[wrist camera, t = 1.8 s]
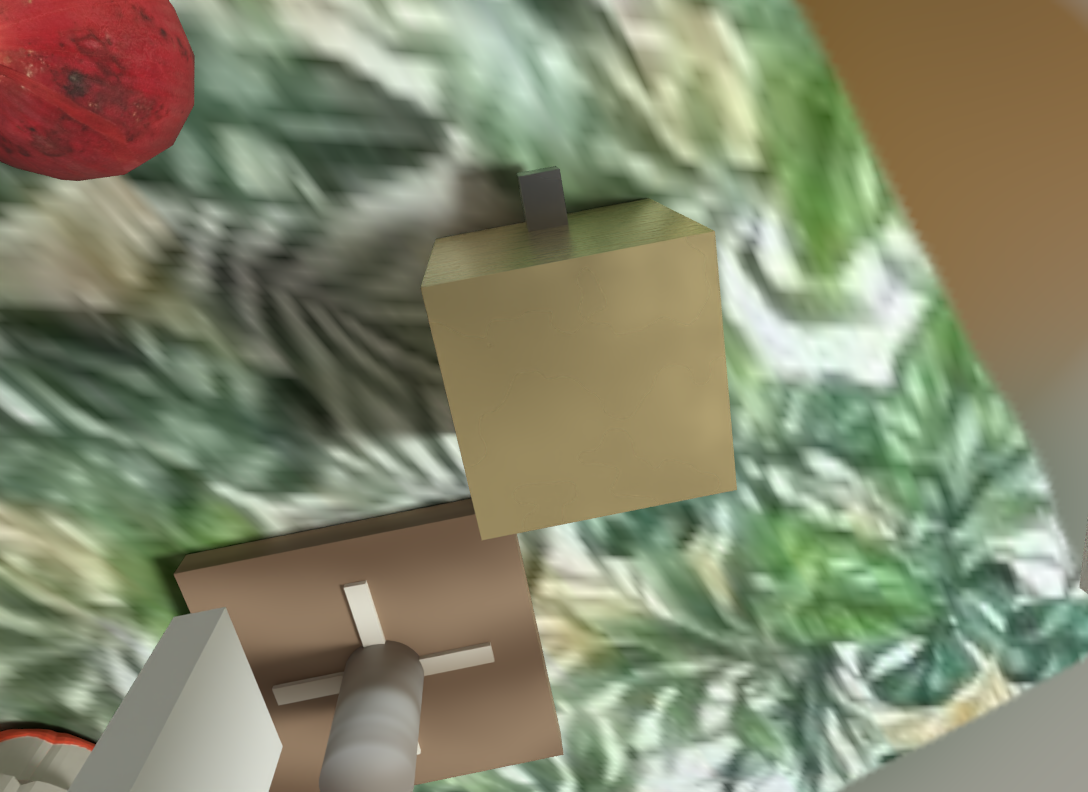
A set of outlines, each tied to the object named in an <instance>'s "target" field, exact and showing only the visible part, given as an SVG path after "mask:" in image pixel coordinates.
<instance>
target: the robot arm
mask: <svg viewBox="0 0 1088 792" xmlns="http://www.w3.org/2000/svg"><path fill="white" fill-rule="evenodd" d="M1080 588H1081V589H1082V590H1083V591H1085V592H1086V593H1087V594H1088V518H1087V527H1086V536H1085V544H1084V553H1083V562H1082V570H1081V579H1080ZM282 747H283V746H282V743H281V741H280V738H279V736H278V734H277V731H276V729H275V726H274V724H273V721H272V719H271V716H270V714H269V712H268V709H267V707H266V704H265V702H264V699H263V697H262V694H261V692H260V690H259V687H258V685H257V682H256V680H255V677H254V675H253V672H252V670H251V668H250V665H249V663H248V660H247V658H246V655H245V653H244V650H243V648H242V646H241V643H240V641H239V638H238V636H237V633H236V631H235V628H234V626H233V624H232V621H231V619H230V616H229V614H228V611H227V609H226V607H222V608H217V609H212V610H207V611H202V612H197V613H192V614H187V615H182V616H177V617H174V618H173V619H172V621H171V623H170V624H169V626H168V628H167V629H166V631H165V632H164V634H163V636H162V637H161V639H160V641H159V642H158V644H157V645H156V647H155V649H154V650H153V652H152V654H151V655H150V657H149V659H148V660H147V662H146V663H145V665H144V667H143V668H142V670H141V672H140V673H139V675H138V677H137V678H136V680H135V681H134V683H133V685H132V686H131V688H130V690H129V691H128V693H127V695H126V696H125V698H124V699H123V701H122V703H121V704H120V706H119V708H118V709H117V711H116V712H115V714H114V716H113V717H112V719H111V721H110V722H109V724H108V726H107V727H106V729H105V730H104V732H103V734H102V735H101V737H100V739H99V740H98V742H97V744H96V745H95V747H94V748H93V750H92V752H91V753H90V755H89V757H88V758H87V760H86V761H85V763H84V765H83V766H82V768H81V770H80V771H79V773H78V775H77V776H76V778H75V779H74V781H73V783H72V784H71V786H70V788H69V789H68V791H67V792H269V789H270V785H271V782H272V779H273V776H274V773H275V769H276V766H277V763H278V760H279V757H280V753H281V750H282Z"/></svg>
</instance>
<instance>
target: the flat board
mask: <svg viewBox="0 0 1088 792" xmlns="http://www.w3.org/2000/svg"><path fill="white" fill-rule="evenodd" d="M174 576H175V578H176V581H177V583H178V585H179V587H180V590H181V592H182V594H183V597H184V599H185V601H186V603H187V606H188V608H189V610H190V613H191V614H192V613H197V612H202V611H207V610H212V609H217V608H222V607H226V609H227V611H228V614H229V616H230V619H231V621H232V624H233V626H234V628H235V631H236V633H237V636H238V638H239V641H240V643H241V646H242V648H243V650H244V653H245V655H246V658H247V660H248V663H249V665H250V668H251V670H252V672H253V675H254V677H255V680H256V682H257V685H258V687H259V690H260V692H261V694H262V697H263V699H264V702H265V704H266V707H267V709H268V712H269V714H270V716H271V719H272V721H273V724H274V726H275V729H276V731H277V734H278V736H279V738H280V741H281V743H282V746H283V747H282V750H281V753H280V757H279V760H278V763H277V766H276V769H275V773H274V776H273V779H272V782H271V785H270V789H269V792H412V791H413V788H414V785H417V784H422V783H427V782H432V781H437V780H442V779H447V778H451V777H456V776H461V775H466V774H471V773H476V772H481V771H486V770H491V769H495V768H500V767H505V766H510V765H515V764H520V763H525V762H530V761H535V760H539V759H544V758H549V757H554V756H559V755H563V748H562V740H561V733H560V728H559V724H558V719H557V714H556V710H555V705H554V701H553V696H552V692H551V687H550V683H549V678H548V674H547V669H546V665H545V660H544V656H543V651H542V646H541V642H540V637H539V633H538V628H537V624H536V619H535V615H534V610H533V606H532V601H531V597H530V592H529V588H528V583H527V578H526V574H525V569H524V565H523V560H522V556H521V551H520V547H519V542H518V538H517V534H512V535H507V536H501V537H496V538H491V539H486V540H482V539H481V535H480V531H479V527H478V522H477V518H476V514H475V510H474V506H473V502H472V498H471V499H466V500H461V501H456V502H451V503H446V504H441V505H436V506H431V507H426V508H421V509H415V510H410V511H405V512H400V513H395V514H390V515H385V516H380V517H375V518H370V519H365V520H360V521H355V522H350V523H345V524H340V525H335V526H330V527H325V528H319V529H314V530H309V531H304V532H299V533H294V534H289V535H284V536H279V537H274V538H269V539H264V540H259V541H254V542H249V543H244V544H239V545H234V546H228V547H223V548H218V549H213V550H208V551H203V552H198V553H193V554H188V555H186V556H185V557H184V559H183V560H182V562H181V564H180V565H179V567H178V568H177V570H176V571H175V573H174Z"/></svg>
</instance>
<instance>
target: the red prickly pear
mask: <svg viewBox="0 0 1088 792" xmlns="http://www.w3.org/2000/svg"><path fill="white" fill-rule="evenodd" d="M193 106H194V54H193V51H192V49H191V46H190V44H189V42H188V39H187V37H186V35H185V32H184V30H183V28H182V25H181V23H180V21H179V18H178V16H177V14H176V11H175V9H174V7H173V6H172V4H171V3H170V2H169V0H0V161H1V162H3V163H5V164H8V165H10V166H13V167H15V168H18V169H22V170H26V171H30V172H34V173H38V174H42V175H46V176H49V177H53V178H57V179H61V180H74V181H81V180H88V179H96V178H103V177H110V176H118V175H124V174H126V173H128V172H130V171H131V170H133V169H135V168H136V167H138V166H140V165H141V164H143V163H145V162H146V161H148V160H149V159H151V158H153V157H154V156H156V155H158V154H159V153H161V152H162V151H164V150H166V149H167V148H169V147H171V146H172V145H173V144H174V142H175V140H176V138H177V136H178V135H179V133H180V131H181V129H182V127H183V125H184V123H185V121H186V119H187V117H188V115H189V114H190V112H191V110H192V108H193Z"/></svg>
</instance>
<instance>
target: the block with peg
mask: <svg viewBox="0 0 1088 792" xmlns="http://www.w3.org/2000/svg"><path fill="white" fill-rule="evenodd" d="M517 179H518V184H519V190H520V195H521V201H522V206H523V212H524V218H525V222H522V223H517V224H512V225H506V226H501V227H496V228H491V229H486V230H480V231H475V232H470V233H465V234H459V235H454V236H449V237H444V238H439V239H436V240H435V243H434V246H433V249H432V253H431V256H430V259H429V262H428V266H427V269H426V272H425V275H424V278H423V282H422V285H421V292H422V296H423V300H424V304H425V308H426V312H427V316H428V320H429V325H430V329H431V333H432V337H433V341H434V345H435V349H436V353H437V358H438V362H439V366H440V370H441V374H442V378H443V382H444V386H445V391H446V395H447V399H448V403H449V407H450V411H451V415H452V419H453V424H454V428H455V432H456V436H457V440H458V444H459V448H460V452H461V457H462V461H463V465H464V469H465V473H466V477H467V481H468V485H469V489H470V494H471V498H472V502H473V506H474V510H475V514H476V518H477V522H478V527H479V531H480V535H481V539H482V540H486V539H491V538H496V537H501V536H507V535H512V534H517V533H522V532H527V531H532V530H537V529H542V528H547V527H552V526H557V525H562V524H567V523H572V522H577V521H582V520H587V519H592V518H597V517H602V516H607V515H612V514H617V513H622V512H627V511H632V510H637V509H642V508H647V507H652V506H657V505H662V504H667V503H672V502H677V501H682V500H687V499H692V498H697V497H703V496H708V495H713V494H718V493H723V492H728V491H733V490H737V486H736V474H735V463H734V451H733V439H732V427H731V416H730V404H729V392H728V380H727V369H726V357H725V345H724V333H723V322H722V310H721V298H720V287H719V275H718V263H717V251H716V240H715V231H713V230H711V229H709V228H707V227H705V226H703V225H701V224H699V223H697V222H695V221H693V220H691V219H689V218H687V217H685V216H683V215H681V214H679V213H677V212H675V211H673V210H671V209H669V208H667V207H665V206H663V205H661V204H659V203H657V202H655V201H653V200H651V199H649V198H648V199H642V200H637V201H632V202H627V203H621V204H616V205H611V206H606V207H601V208H595V209H590V210H585V211H580V212H574V213H569V214H567V212H566V206H565V199H564V193H563V187H562V180H561V174H560V169H559V168H558V167H556V166H553V167H547V168H542V169H537V170H532V171H526V172H521V173H517Z"/></svg>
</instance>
